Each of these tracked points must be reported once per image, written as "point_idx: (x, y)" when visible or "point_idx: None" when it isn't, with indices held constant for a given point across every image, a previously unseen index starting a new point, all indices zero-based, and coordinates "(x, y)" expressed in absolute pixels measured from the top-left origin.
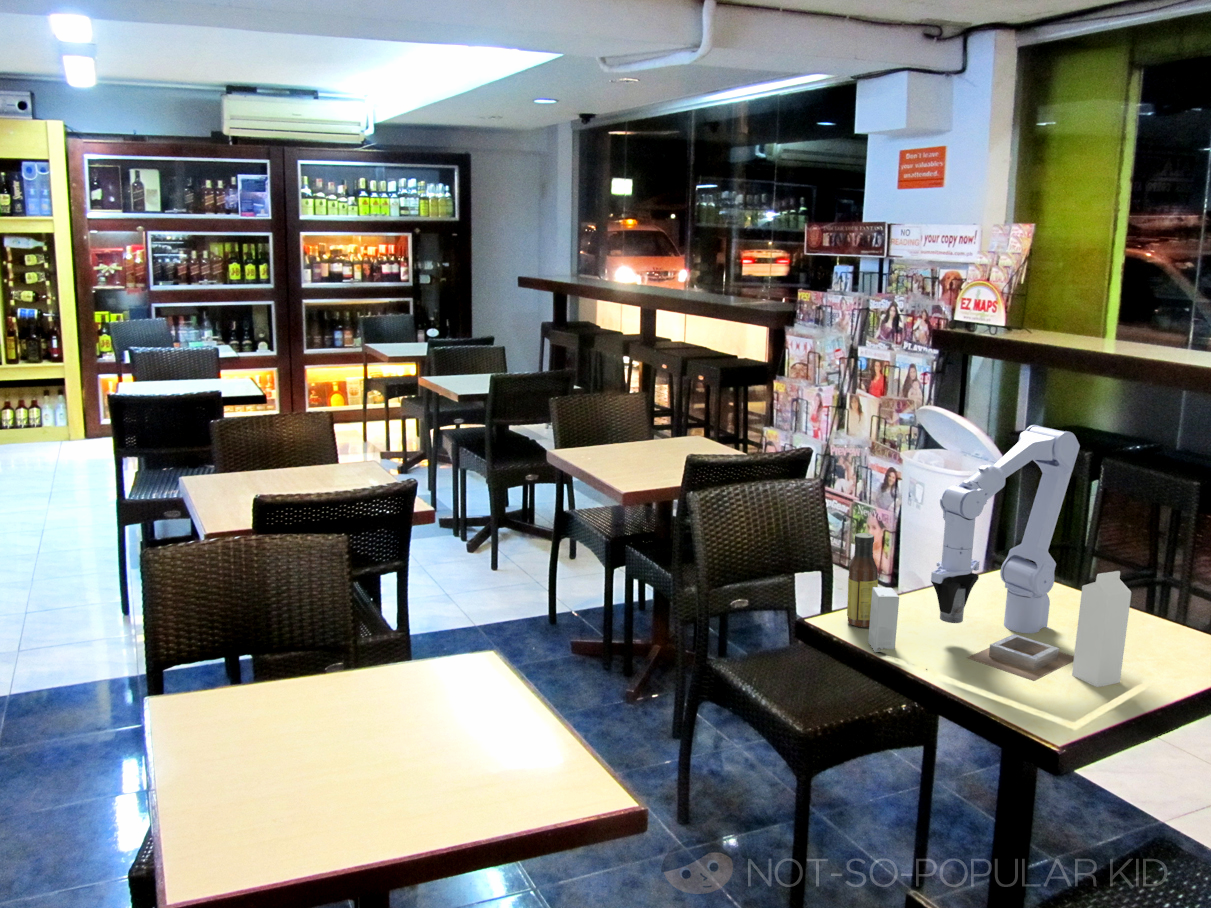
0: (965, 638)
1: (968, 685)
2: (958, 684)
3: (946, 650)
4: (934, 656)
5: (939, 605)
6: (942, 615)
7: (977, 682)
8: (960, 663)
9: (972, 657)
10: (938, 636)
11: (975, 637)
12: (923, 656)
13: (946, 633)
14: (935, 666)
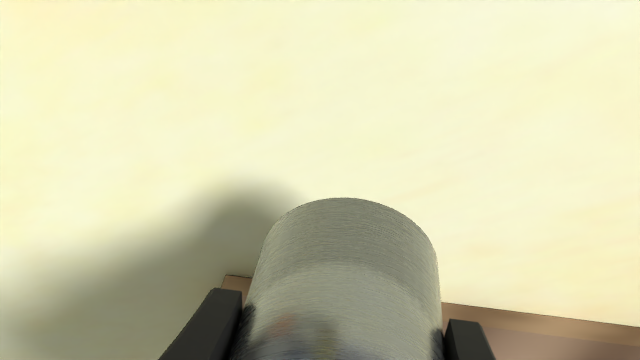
0: (555, 166)
1: (46, 338)
2: (17, 317)
3: (286, 166)
4: (157, 157)
5: (188, 326)
6: (258, 264)
7: (97, 348)
8: (195, 262)
9: (243, 307)
10: (476, 36)
11: (612, 197)
12: (104, 120)
13: (576, 48)
14: (63, 207)
